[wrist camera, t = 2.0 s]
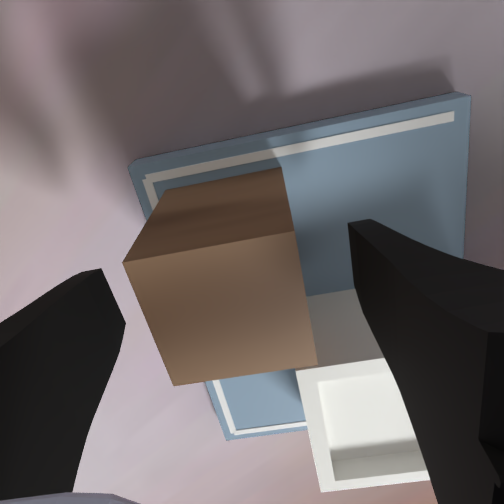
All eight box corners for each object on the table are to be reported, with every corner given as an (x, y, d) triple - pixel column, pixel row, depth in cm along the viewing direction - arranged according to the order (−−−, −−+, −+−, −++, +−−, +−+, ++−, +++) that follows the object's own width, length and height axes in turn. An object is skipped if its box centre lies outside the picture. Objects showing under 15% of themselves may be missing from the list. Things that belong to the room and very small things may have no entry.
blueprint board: (447, 393, 19) (500, 492, 15) (227, 423, 20) (220, 523, 16) (456, 91, 13) (554, 117, 9) (135, 159, 14) (83, 211, 10)
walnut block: (299, 269, 15) (317, 364, 11) (196, 286, 15) (173, 386, 11) (281, 166, 13) (294, 230, 9) (165, 190, 14) (122, 262, 9)
